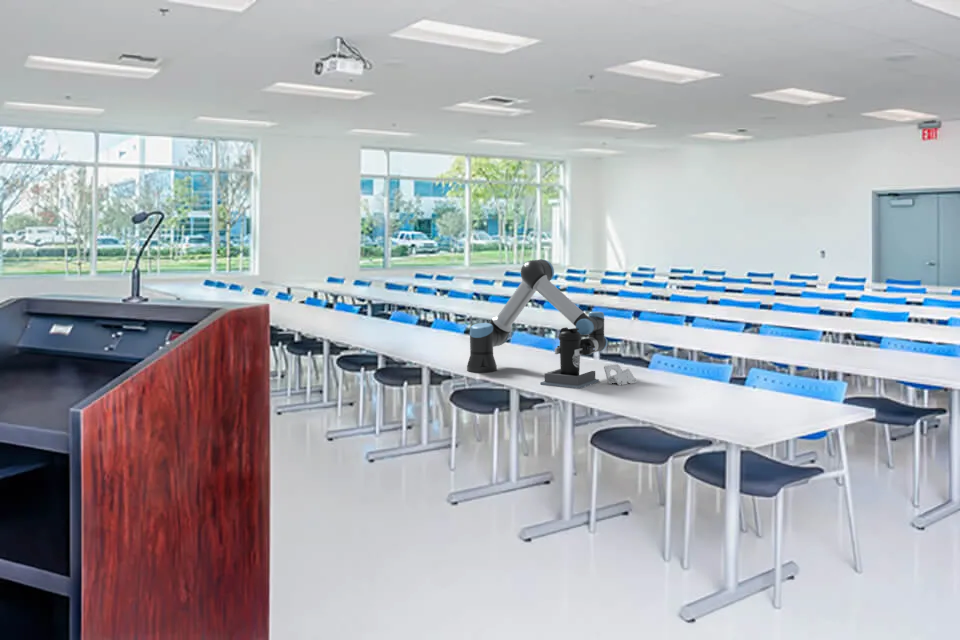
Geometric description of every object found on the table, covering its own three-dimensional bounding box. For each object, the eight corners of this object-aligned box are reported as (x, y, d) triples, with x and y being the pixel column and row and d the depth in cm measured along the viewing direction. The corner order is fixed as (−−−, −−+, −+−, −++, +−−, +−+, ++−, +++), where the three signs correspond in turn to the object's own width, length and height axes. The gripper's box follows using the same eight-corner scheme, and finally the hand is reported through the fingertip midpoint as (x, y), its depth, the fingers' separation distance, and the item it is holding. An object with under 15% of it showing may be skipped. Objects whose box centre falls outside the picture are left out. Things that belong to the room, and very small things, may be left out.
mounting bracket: (629, 385, 371) (622, 363, 374) (638, 382, 366) (631, 359, 369) (609, 388, 364) (603, 366, 367) (618, 385, 359) (612, 362, 362)
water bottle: (574, 380, 362) (574, 330, 359) (554, 378, 368) (554, 328, 365) (585, 377, 370) (585, 327, 367) (566, 374, 376) (566, 326, 373)
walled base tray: (540, 384, 366) (540, 373, 366) (561, 377, 383) (561, 367, 382) (579, 388, 355) (579, 377, 355) (599, 381, 372) (599, 371, 371)
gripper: (608, 355, 376) (587, 362, 358) (567, 352, 389) (544, 358, 370) (608, 339, 376) (587, 345, 357) (567, 337, 388) (544, 342, 369)
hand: (565, 352), depth 364 cm, fingers open, 9 cm apart
